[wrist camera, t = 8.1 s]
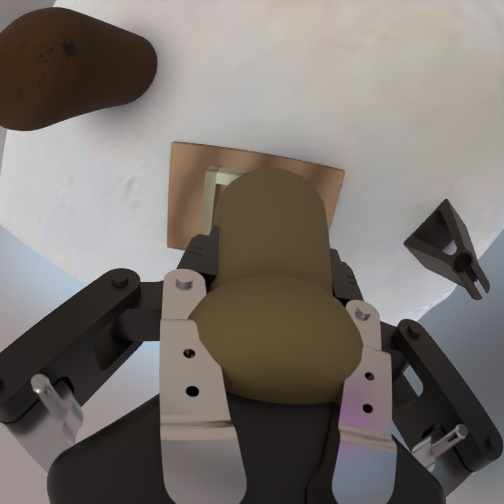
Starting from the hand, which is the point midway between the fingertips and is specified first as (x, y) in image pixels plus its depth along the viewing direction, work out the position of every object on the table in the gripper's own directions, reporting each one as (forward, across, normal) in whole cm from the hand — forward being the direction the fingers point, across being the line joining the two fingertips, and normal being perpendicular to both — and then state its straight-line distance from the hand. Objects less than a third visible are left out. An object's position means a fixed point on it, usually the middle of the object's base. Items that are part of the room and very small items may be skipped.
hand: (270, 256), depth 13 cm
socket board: (+22, +1, +7) cm, 23 cm away
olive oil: (+23, +20, -8) cm, 31 cm away
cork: (+3, 0, 0) cm, 3 cm away
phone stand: (+22, -25, +4) cm, 33 cm away
